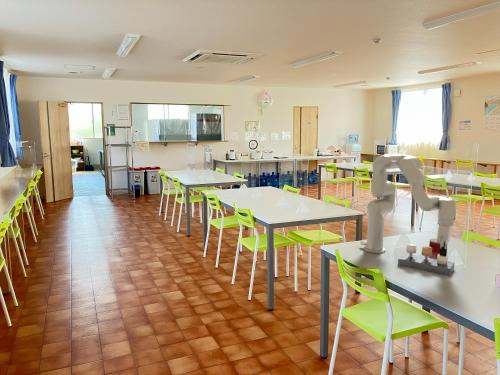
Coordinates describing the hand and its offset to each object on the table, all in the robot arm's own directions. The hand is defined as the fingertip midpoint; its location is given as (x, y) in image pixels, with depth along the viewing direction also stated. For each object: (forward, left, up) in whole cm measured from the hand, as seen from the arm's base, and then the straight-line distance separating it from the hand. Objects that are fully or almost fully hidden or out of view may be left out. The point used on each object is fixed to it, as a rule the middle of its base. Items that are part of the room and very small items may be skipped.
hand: (443, 255), depth 218 cm
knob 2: (0, 0, -7) cm, 7 cm away
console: (-8, 0, -8) cm, 12 cm away
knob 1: (-16, 0, -4) cm, 17 cm away
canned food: (-7, +20, -9) cm, 23 cm away
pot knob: (-8, 0, -4) cm, 9 cm away
